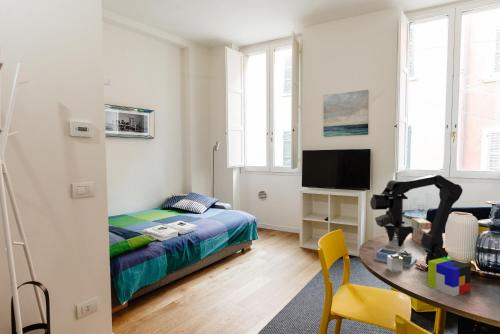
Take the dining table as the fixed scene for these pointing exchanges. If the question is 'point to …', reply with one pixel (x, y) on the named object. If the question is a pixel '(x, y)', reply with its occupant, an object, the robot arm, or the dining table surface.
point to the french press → (395, 242)
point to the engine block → (395, 263)
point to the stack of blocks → (420, 228)
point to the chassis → (383, 253)
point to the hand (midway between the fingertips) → (395, 243)
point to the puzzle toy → (449, 276)
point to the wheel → (405, 258)
